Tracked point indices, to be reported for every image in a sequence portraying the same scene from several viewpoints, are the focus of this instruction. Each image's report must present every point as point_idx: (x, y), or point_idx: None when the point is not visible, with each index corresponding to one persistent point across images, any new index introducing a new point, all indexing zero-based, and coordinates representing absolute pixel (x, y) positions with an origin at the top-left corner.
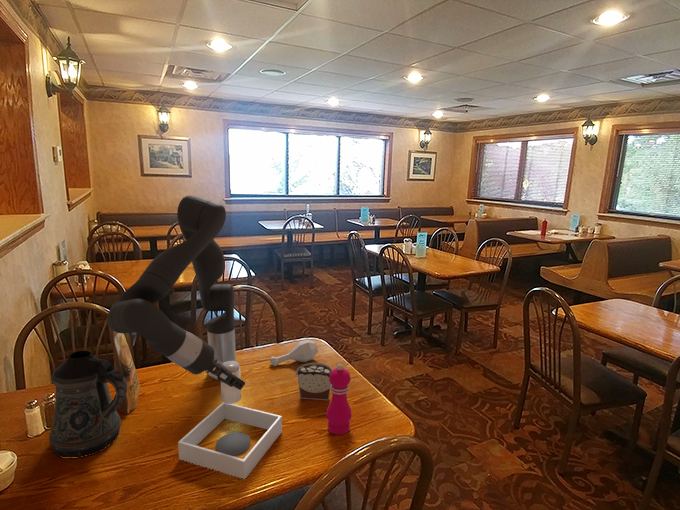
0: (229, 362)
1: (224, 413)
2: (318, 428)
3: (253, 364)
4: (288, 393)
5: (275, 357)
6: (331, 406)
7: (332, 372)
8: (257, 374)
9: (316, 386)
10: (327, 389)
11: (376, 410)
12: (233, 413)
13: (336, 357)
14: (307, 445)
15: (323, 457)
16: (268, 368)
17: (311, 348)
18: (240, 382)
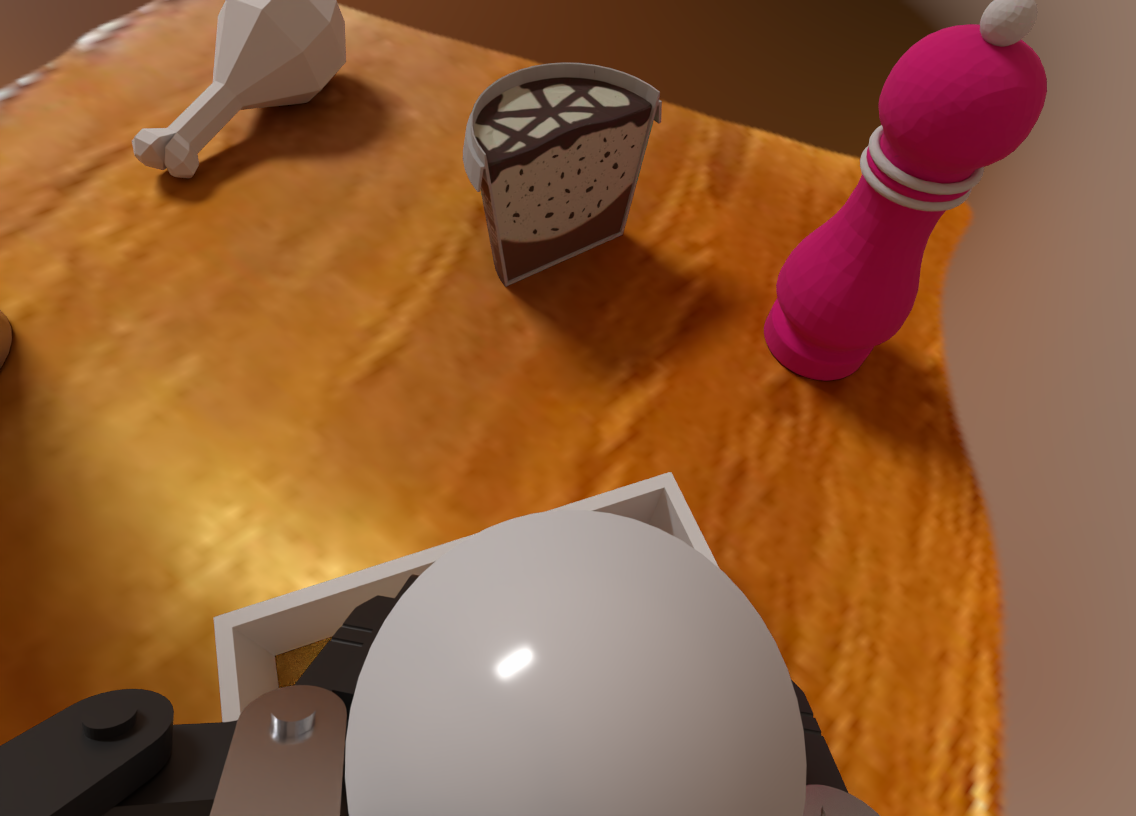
0: (457, 645)
1: (262, 647)
2: (755, 391)
3: (55, 217)
4: (426, 290)
5: (162, 130)
6: (868, 281)
7: (971, 78)
8: (146, 264)
9: (578, 199)
10: (624, 190)
11: (815, 189)
12: (334, 617)
13: (410, 29)
14: (828, 508)
15: (948, 521)
16: (168, 204)
17: (323, 12)
18: (820, 741)
